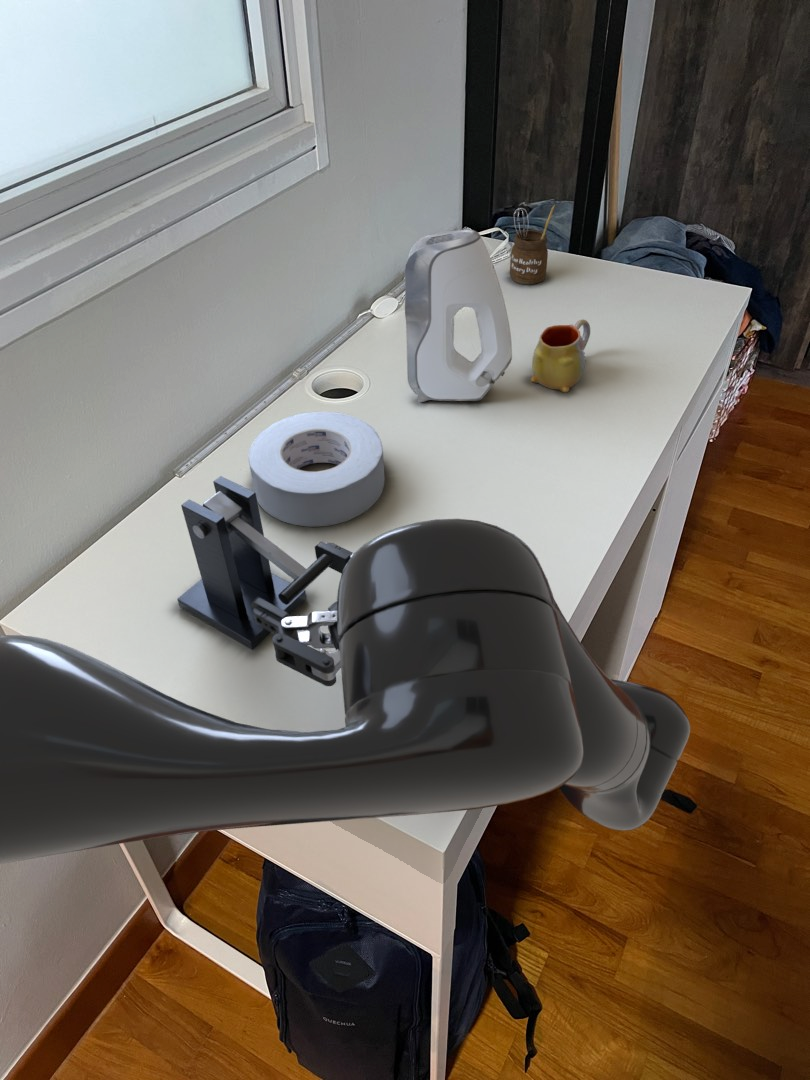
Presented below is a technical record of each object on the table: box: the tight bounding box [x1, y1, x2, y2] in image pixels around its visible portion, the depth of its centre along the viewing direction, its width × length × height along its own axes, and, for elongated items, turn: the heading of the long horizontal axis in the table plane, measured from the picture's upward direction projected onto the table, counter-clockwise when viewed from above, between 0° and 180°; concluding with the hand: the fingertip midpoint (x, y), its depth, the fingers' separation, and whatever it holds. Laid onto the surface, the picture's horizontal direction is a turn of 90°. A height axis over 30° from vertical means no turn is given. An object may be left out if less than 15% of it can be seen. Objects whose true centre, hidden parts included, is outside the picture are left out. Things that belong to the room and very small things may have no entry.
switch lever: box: [202, 491, 332, 605], centre depth 73 cm, size 12×6×2 cm, turn 55°
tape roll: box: [248, 411, 385, 528], centre depth 95 cm, size 15×15×5 cm
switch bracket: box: [177, 475, 307, 651], centre depth 78 cm, size 10×8×14 cm
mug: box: [530, 319, 591, 393], centre depth 111 cm, size 12×7×7 cm, turn 141°
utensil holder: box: [509, 204, 556, 286], centre depth 130 cm, size 6×6×12 cm
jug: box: [404, 229, 513, 403], centre depth 102 cm, size 13×5×22 cm, turn 83°
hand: (287, 577), depth 74 cm, fingers open, 8 cm apart
